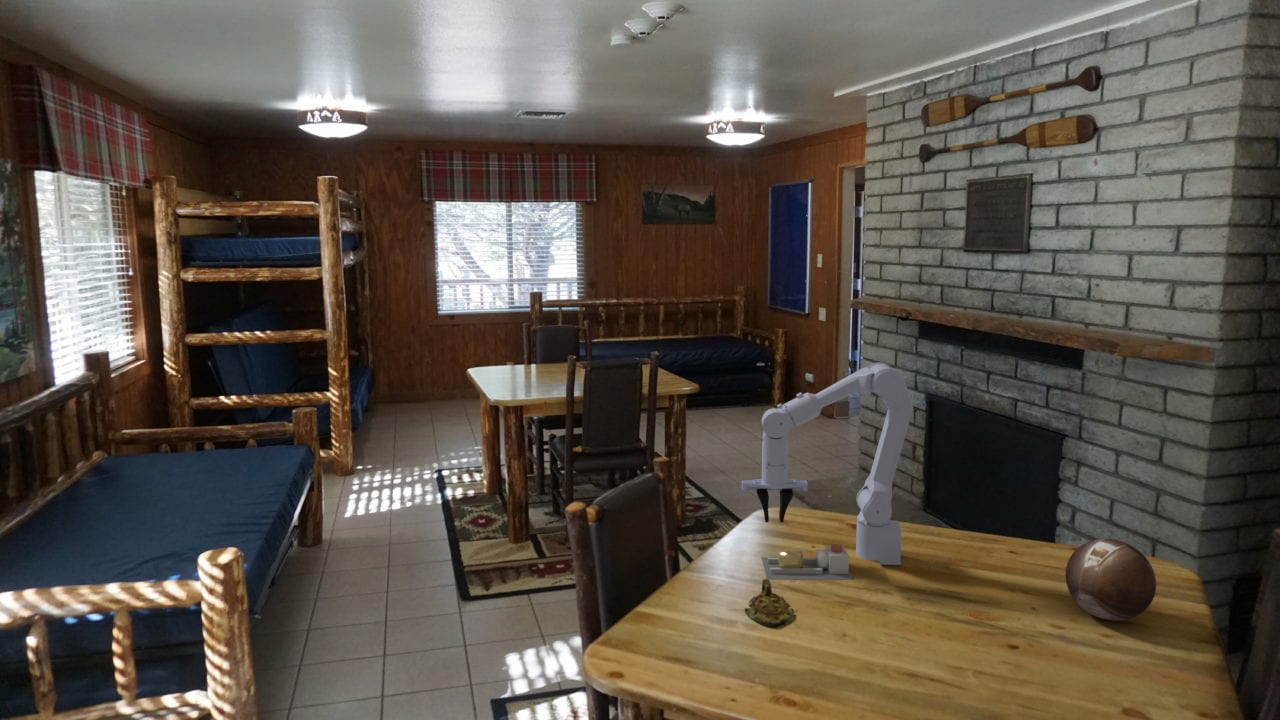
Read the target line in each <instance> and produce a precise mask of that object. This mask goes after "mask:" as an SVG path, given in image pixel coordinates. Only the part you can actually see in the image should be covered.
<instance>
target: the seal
mask: <svg viewBox="0 0 1280 720" xmlns="http://www.w3.org/2000/svg"><path fill="white" fill-rule="evenodd" d="M761 582H762V583H761V591H760V594H758V595H756V596H753V597H752V598H751V599H749V601H748V607H746V608H744V612H745V614H746V616H747V617H748V618H749V619H750V620H751V621H754V622H756V623H757V624H758V625H760V626H763V627H766V628H772V629H774V628H776V627H780V626H784V625H787V624H788V623H791V621H793V619H794V614H795V613H794V609H793V608H790V604H789V603H788V602H786V600H785V597H783V596H777V595H776V593H773V590H772V584H771V581H770V579H767V578H765V579H764V578H763V579H762V581H761Z"/></svg>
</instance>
